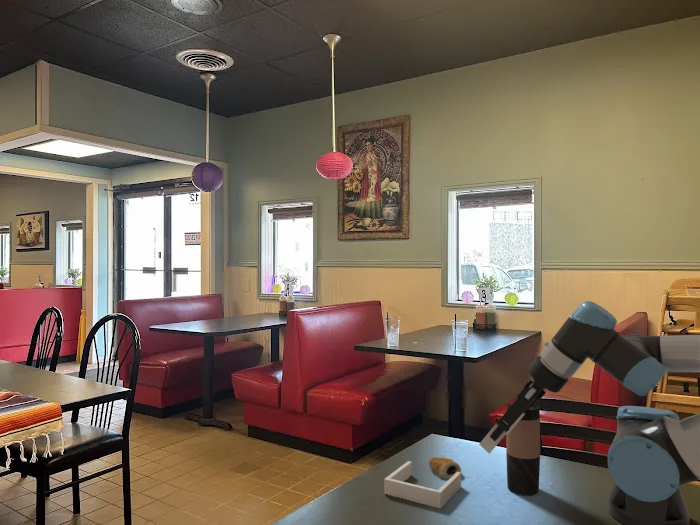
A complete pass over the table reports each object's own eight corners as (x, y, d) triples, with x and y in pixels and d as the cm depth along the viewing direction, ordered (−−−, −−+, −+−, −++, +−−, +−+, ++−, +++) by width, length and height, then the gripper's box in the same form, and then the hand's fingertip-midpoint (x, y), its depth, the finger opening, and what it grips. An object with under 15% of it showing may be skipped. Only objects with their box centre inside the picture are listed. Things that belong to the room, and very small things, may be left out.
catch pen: (461, 486, 130) (461, 472, 130) (440, 508, 119) (440, 492, 119) (408, 474, 137) (408, 461, 137) (384, 493, 126) (384, 479, 126)
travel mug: (542, 497, 124) (542, 411, 124) (507, 494, 126) (507, 409, 125) (537, 483, 132) (537, 402, 131) (505, 481, 133) (505, 400, 133)
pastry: (422, 467, 143) (422, 452, 143) (444, 463, 145) (444, 449, 145) (441, 480, 134) (441, 465, 134) (464, 476, 137) (464, 461, 137)
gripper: (551, 346, 124) (497, 412, 131) (523, 365, 103) (461, 443, 110) (579, 368, 121) (522, 435, 128) (557, 392, 100) (490, 471, 106)
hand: (494, 439), depth 119 cm, fingers open, 13 cm apart
